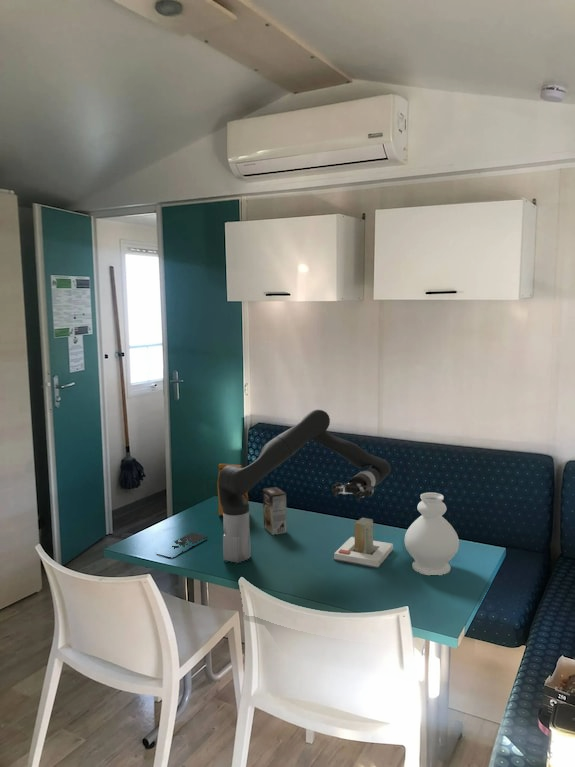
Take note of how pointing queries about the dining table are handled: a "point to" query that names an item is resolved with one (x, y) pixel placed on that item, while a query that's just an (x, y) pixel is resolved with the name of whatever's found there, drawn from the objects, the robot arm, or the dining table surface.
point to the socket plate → (371, 560)
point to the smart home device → (193, 537)
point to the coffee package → (218, 487)
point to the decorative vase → (431, 537)
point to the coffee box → (274, 510)
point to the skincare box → (364, 536)
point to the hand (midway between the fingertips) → (345, 495)
